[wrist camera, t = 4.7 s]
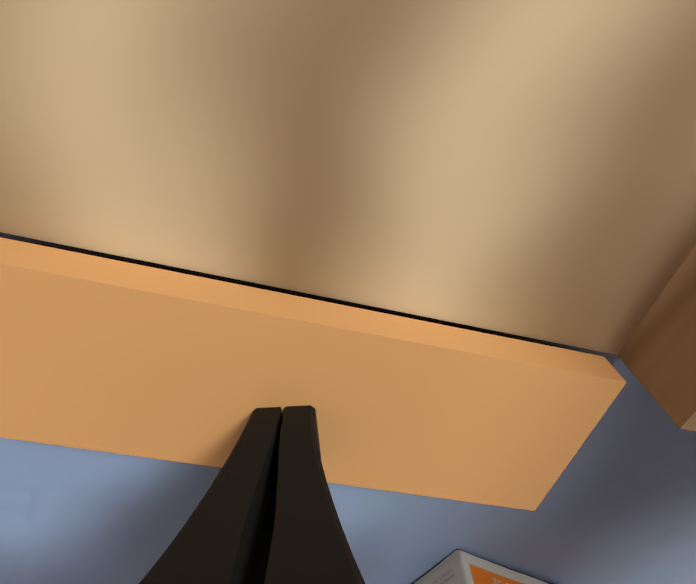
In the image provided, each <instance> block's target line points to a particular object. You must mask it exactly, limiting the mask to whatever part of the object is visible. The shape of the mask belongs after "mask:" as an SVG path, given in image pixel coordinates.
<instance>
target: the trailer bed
mask: <svg viewBox="0 0 696 584" xmlns="http://www.w3.org/2000/svg"><path fill="white" fill-rule="evenodd" d="M0 232H2V233H7V234H12V235H17V236H22V237H27V238H32V239H37V240H42V241H47V242H52V243H57V244H62V245H67V246H72V247H77V248H82V249H87V250H92V251H97V252H102V253H107V254H112V255H117V256H122V257H127V258H132V259H137V260H142V261H147V262H152V263H157V264H162V265H167V266H172V267H177V268H182V269H187V270H192V271H197V272H202V273H207V274H212V275H217V276H222V277H228V278H233V279H238V280H243V281H248V282H253V283H258V284H263V285H268V286H273V287H278V288H283V289H288V290H293V291H298V292H303V293H308V294H313V295H318V296H323V297H328V298H333V299H338V300H343V301H348V302H353V303H358V304H363V305H368V306H373V307H378V308H383V309H388V310H393V311H398V312H403V313H408V314H413V315H418V316H423V317H428V318H433V319H438V320H443V321H448V322H453V323H459V324H464V325H469V326H474V327H479V328H484V329H489V330H494V331H499V332H504V333H509V334H514V335H519V336H524V337H529V338H534V339H539V340H544V341H549V342H554V343H559V344H564V345H569V346H574V347H579V348H584V349H589V350H594V351H599V352H604V353H609V354H614V355H618V357H619V358H620V359H621V360H622V361H623V362H624V364H625V365H626V366H627V367H628V368H629V370H630V371H631V372H632V373H633V374H634V375H635V377H636V378H637V379H638V380H639V381H640V382H641V384H642V385H643V386H644V387H645V388H646V389H647V391H648V392H649V393H650V394H651V395H652V397H653V398H654V399H655V400H656V401H657V402H658V404H659V405H660V406H661V407H662V408H663V409H664V411H665V412H666V413H667V414H668V415H669V416H670V418H671V419H672V420H673V421H674V422H675V424H676V425H677V426H678V427H679V428H680V429H684V430H690V431H696V0H0Z"/></svg>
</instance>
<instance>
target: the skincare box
mask: <svg viewBox="0 0 696 584" xmlns="http://www.w3.org/2000/svg"><path fill="white" fill-rule="evenodd" d="M413 584H548V583H546V582H543V581H541V580H538V579H535V578H532V577H530V576H527V575H524V574H521V573H518V572H515V571H513V570H510V569H507V568H505V567H502V566H500V565H497V564H494V563H492V562H489V561H487V560H484V559H481V558H479V557H476V556H473V555H471V554H469V553H466V552H464V551H461V550H455V551H454V552H453V553H451V554H450V555H449V556H448V557H447V558H445V559H444V560H443V561H442V562H441V563H439V564H438V565H437V566H436V567H434V568H433V569H432V570H431V571H429V572H428V573H427V574H425V575H424V576H423V577H421V578H420V579H419V580H418V581H416V582H415V583H413Z"/></svg>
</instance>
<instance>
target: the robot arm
mask: <svg viewBox="0 0 696 584" xmlns="http://www.w3.org/2000/svg"><path fill="white" fill-rule="evenodd" d="M139 584H365V582H364V580H363V578H362V575H361V573H360V571H359V568H358V566H357V564H356V562H355V559H354V557H353V554H352V552H351V549H350V547H349V544H348V542H347V539H346V537H345V534H344V532H343V529H342V526H341V523H340V521H339V518H338V515H337V512H336V509H335V506H334V503H333V500H332V497H331V494H330V491H329V488H328V484H327V480H326V477H325V473H324V469H323V466H322V462H321V453H320V444H319V435H318V426H317V417H316V409H315V408H314V407H312V406H311V405H307V406H287V407H286V408H285V412H284V416H283V417H282V411H281V407H267V408H256V409H255V410H254V411H253V412H252V414H251V416H250V418H249V420H248V422H247V424H246V426H245V428H244V430H243V432H242V434H241V436H240V437H239V439H238V441H237V443H236V445H235V446H234V448H233V450H232V452H231V454H230V455H229V457H228V459H227V460H226V462H225V464H224V465H223V467H222V469H221V470H220V472H219V474H218V475H217V477H216V479H215V480H214V482H213V483H212V485H211V487H210V488H209V490H208V491H207V493H206V494H205V496H204V497H203V499H202V500H201V502H200V503H199V505H198V506H197V508H196V509H195V511H194V512H193V513H192V515H191V516H190V518H189V519H188V521H187V522H186V524H185V525H184V527H183V528H182V529H181V531H180V532H179V533H178V535H177V536H176V538H175V539H174V540H173V542H172V543H171V544H170V546H169V547H168V548H167V549H166V551H165V552H164V553H163V555H162V556H161V557H160V558H159V560H158V561H157V562H156V564H155V565H154V566H153V567H152V569H151V570H150V571H149V572H148V573H147V575H146V576H145V577H144V578H143V579H142V581H141V582H140V583H139Z"/></svg>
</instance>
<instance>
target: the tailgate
mask: <svg viewBox="0 0 696 584" xmlns="http://www.w3.org/2000/svg"><path fill="white" fill-rule="evenodd" d="M626 383H627V382H626V381H625V380H624V379H623V378H622V377H621V375H620V374H619V373H618V372H617V371H616V370H615V368H614V367H613V366H612V365H611V364H610V363H609V361H608V360H607V359H606V358H605V357H604V356H599V355H594V354H589V353H583V352H578V351H573V350H568V349H563V348H558V347H553V346H548V345H543V344H538V343H533V342H528V341H523V340H518V339H513V338H508V337H503V336H497V335H492V334H487V333H482V332H477V331H472V330H467V329H462V328H457V327H452V326H447V325H442V324H437V323H432V322H427V321H422V320H417V319H411V318H406V317H401V316H396V315H391V314H386V313H381V312H376V311H371V310H366V309H361V308H356V307H351V306H346V305H341V304H336V303H331V302H325V301H320V300H315V299H310V298H305V297H300V296H295V295H290V294H285V293H280V292H275V291H270V290H265V289H260V288H255V287H250V286H244V285H239V284H234V283H229V282H224V281H219V280H214V279H209V278H204V277H199V276H194V275H189V274H184V273H179V272H174V271H169V270H164V269H158V268H153V267H148V266H143V265H138V264H133V263H128V262H123V261H118V260H113V259H108V258H103V257H98V256H93V255H88V254H83V253H78V252H72V251H67V250H62V249H57V248H52V247H47V246H42V245H37V244H32V243H27V242H22V241H17V240H12V239H7V238H2V237H0V437H2V438H9V439H16V440H23V441H31V442H38V443H45V444H52V445H60V446H67V447H74V448H81V449H89V450H96V451H103V452H110V453H118V454H125V455H132V456H139V457H147V458H154V459H161V460H168V461H176V462H183V463H190V464H197V465H205V466H212V467H219V468H222V467H223V465H224V464H225V462H226V460H227V459H228V457H229V455H230V454H231V452H232V450H233V448H234V446H235V445H236V443H237V441H238V439H239V437H240V436H241V434H242V432H243V430H244V428H245V426H246V424H247V422H248V420H249V418H250V416H251V414H252V412H253V411H254V410H255V409H256V408H267V407H281V411H282V417H283V416H284V412H285V408H286V407H287V406H307V405H311V406H312V407H314V408H315V409H316V417H317V426H318V435H319V444H320V453H321V462H322V466H323V469H324V473H325V477H326V480H327V482H328V483H335V484H342V485H350V486H357V487H364V488H371V489H379V490H386V491H393V492H400V493H408V494H415V495H422V496H429V497H437V498H444V499H451V500H458V501H466V502H473V503H480V504H487V505H495V506H502V507H509V508H516V509H524V510H531V511H535V510H536V509H537V507H538V506H539V504H540V503H541V502H542V500H543V499H544V497H545V496H546V495H547V493H548V492H549V490H550V489H551V488H552V486H553V485H554V483H555V482H556V481H557V479H558V478H559V476H560V475H561V474H562V472H563V471H564V469H565V468H566V467H567V465H568V464H569V462H570V461H571V460H572V458H573V457H574V455H575V454H576V453H577V451H578V450H579V448H580V447H581V446H582V444H583V443H584V441H585V440H586V439H587V437H588V436H589V434H590V433H591V432H592V430H593V429H594V427H595V426H596V425H597V423H598V422H599V420H600V419H601V418H602V416H603V415H604V413H605V412H606V411H607V409H608V408H609V406H610V405H611V404H612V402H613V401H614V399H615V398H616V397H617V395H618V394H619V392H620V391H621V390H622V388H623V387H624V385H625V384H626Z"/></svg>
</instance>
